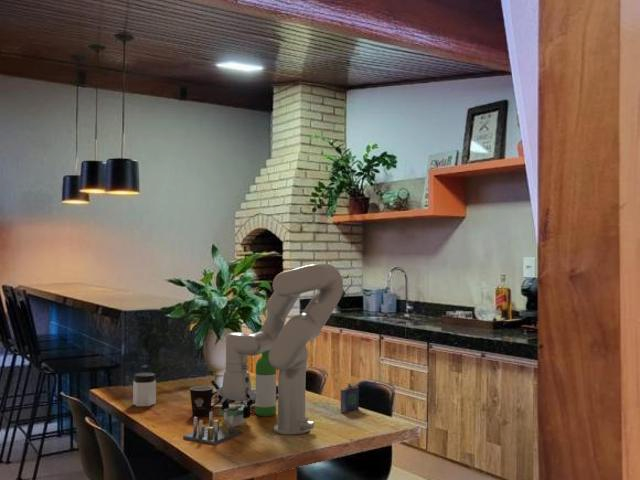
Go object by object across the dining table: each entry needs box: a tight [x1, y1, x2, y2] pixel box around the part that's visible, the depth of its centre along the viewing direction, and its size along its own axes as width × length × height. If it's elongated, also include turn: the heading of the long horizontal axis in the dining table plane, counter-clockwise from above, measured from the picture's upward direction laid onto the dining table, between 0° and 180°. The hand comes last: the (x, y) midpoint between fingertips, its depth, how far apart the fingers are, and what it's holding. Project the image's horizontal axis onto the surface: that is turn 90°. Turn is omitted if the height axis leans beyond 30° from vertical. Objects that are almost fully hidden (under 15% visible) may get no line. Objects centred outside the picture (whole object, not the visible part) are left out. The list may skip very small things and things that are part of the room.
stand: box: [227, 414, 247, 428], centre depth 229 cm, size 3×8×4 cm, turn 150°
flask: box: [340, 382, 360, 414], centre depth 249 cm, size 9×3×11 cm, turn 133°
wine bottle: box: [254, 349, 277, 417], centre depth 243 cm, size 8×8×30 cm
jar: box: [132, 372, 157, 407], centre depth 258 cm, size 9×8×12 cm
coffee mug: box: [189, 385, 221, 418], centre depth 242 cm, size 12×9×10 cm
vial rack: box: [182, 411, 244, 446], centre depth 214 cm, size 13×15×6 cm
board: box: [220, 404, 252, 417], centre depth 229 cm, size 6×10×2 cm, turn 150°
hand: (235, 415), depth 229 cm, fingers open, 9 cm apart
